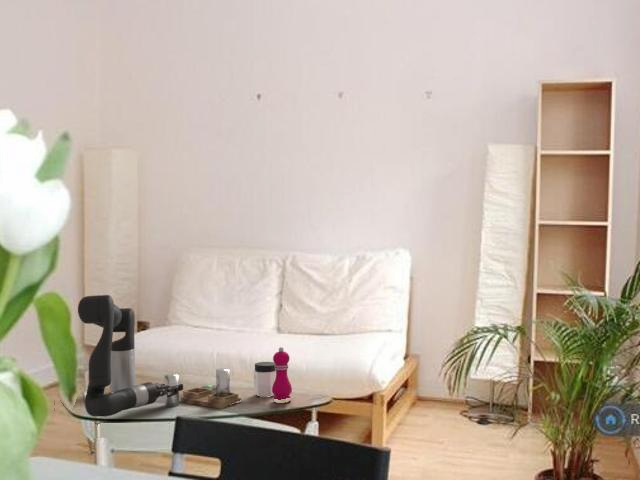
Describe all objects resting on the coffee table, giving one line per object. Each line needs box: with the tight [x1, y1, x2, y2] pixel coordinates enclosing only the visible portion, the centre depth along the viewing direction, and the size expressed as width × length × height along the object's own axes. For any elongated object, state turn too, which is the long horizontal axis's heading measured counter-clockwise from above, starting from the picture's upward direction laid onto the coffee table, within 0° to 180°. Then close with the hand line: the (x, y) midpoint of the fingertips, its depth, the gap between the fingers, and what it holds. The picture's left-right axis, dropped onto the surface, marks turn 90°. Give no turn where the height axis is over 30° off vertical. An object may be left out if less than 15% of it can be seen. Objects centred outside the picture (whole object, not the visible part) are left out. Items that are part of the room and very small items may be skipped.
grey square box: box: [199, 384, 216, 394], centre depth 275 cm, size 6×6×3 cm
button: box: [203, 384, 212, 389], centre depth 275 cm, size 3×3×3 cm
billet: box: [164, 373, 180, 408], centre depth 259 cm, size 5×5×11 cm
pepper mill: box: [272, 346, 293, 400], centre depth 261 cm, size 7×7×20 cm
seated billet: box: [215, 367, 231, 397], centre depth 259 cm, size 5×5×11 cm
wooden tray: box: [180, 386, 242, 410], centre depth 263 cm, size 21×11×4 cm, turn 54°
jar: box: [253, 361, 276, 397], centre depth 272 cm, size 9×8×12 cm
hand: (177, 385), depth 261 cm, fingers closed on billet, 5 cm apart
